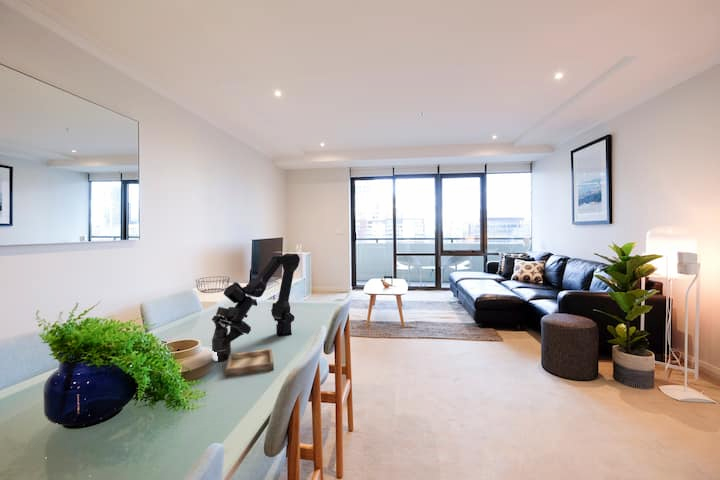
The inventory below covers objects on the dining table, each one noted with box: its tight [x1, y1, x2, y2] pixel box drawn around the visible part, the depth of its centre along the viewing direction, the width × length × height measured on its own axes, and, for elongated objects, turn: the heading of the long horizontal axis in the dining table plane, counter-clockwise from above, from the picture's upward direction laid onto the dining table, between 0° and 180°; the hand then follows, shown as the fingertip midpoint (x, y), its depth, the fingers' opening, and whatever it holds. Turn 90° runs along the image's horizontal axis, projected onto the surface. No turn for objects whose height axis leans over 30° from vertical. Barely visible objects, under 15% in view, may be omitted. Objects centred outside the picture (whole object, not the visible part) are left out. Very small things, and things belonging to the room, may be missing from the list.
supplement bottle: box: [211, 327, 232, 363], centre depth 124 cm, size 7×7×12 cm
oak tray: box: [225, 348, 275, 378], centre depth 118 cm, size 16×14×2 cm
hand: (218, 343), depth 122 cm, fingers closed on supplement bottle, 7 cm apart
